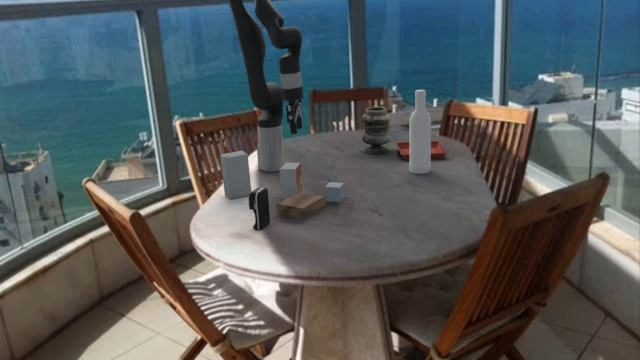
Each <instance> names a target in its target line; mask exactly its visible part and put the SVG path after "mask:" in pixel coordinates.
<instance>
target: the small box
mask: <svg viewBox="0 0 640 360" xmlns="http://www.w3.org/2000/svg"><path fill="white" fill-rule="evenodd" d="M302 178H303V177H302V163H301V162H284V165H283V166H282V167H281V168H280V171H279V179H280V180H279V182H280V183H279V184H280V193H281V194H280V195H281V199H283V200H284V199H286V198H288V197H290V196H292V195H294V194H296V193H298V192H300V193H303V179H302Z"/></svg>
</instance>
